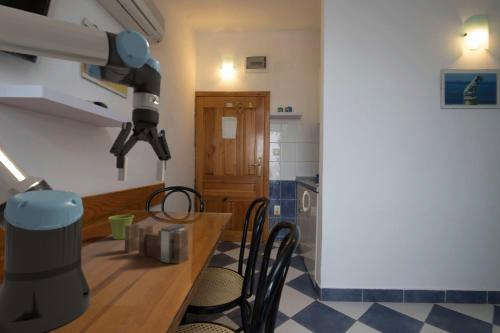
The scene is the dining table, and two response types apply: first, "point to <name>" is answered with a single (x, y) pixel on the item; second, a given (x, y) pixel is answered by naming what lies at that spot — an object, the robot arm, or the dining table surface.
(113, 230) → the plant pot
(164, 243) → the bracket plate
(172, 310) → the dining table surface
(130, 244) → the brown long notched block
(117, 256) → the dining table surface
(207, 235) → the dining table surface
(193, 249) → the dining table surface
